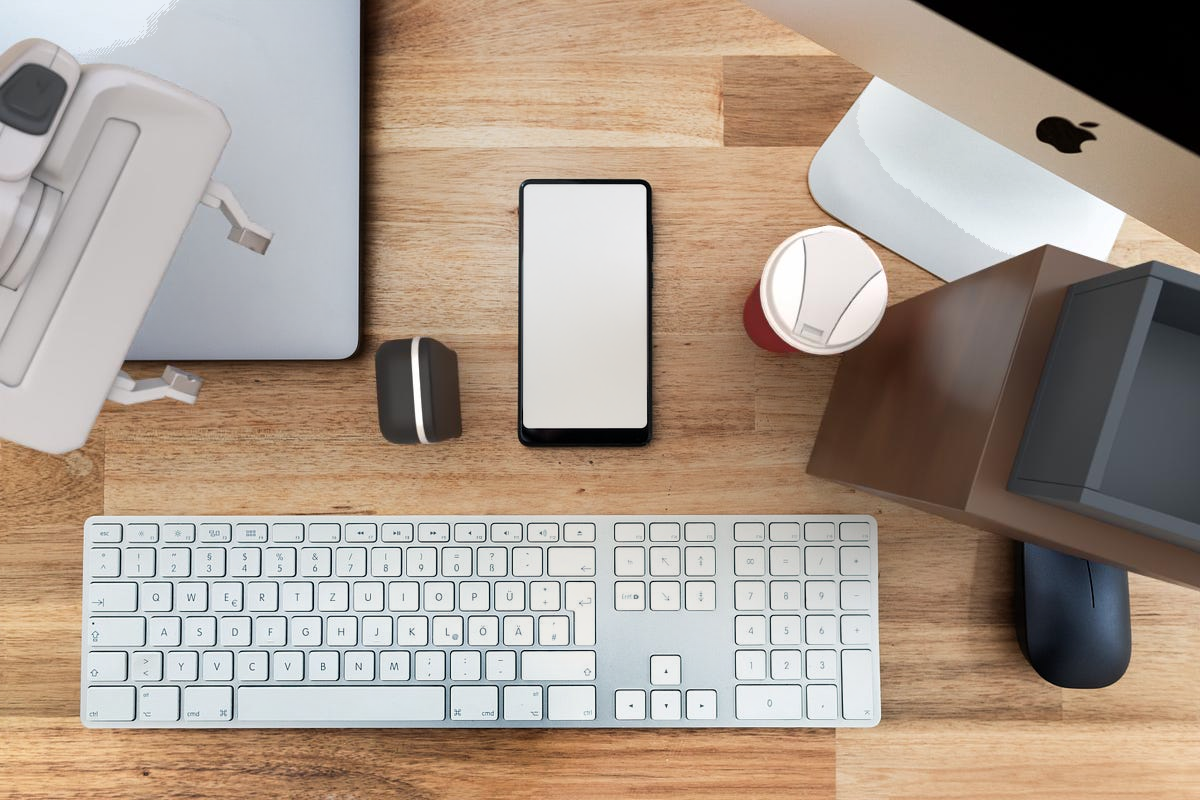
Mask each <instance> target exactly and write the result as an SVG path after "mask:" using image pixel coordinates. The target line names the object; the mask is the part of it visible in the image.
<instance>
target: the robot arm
mask: <svg viewBox="0 0 1200 800" xmlns="http://www.w3.org/2000/svg"><path fill="white" fill-rule="evenodd" d="M232 131H233V130H232V126H231V124H230V122H229V120H228V118H227V116H226V114H225V112H224V111H223V110H222V108H221V107H219V106H218V105H216V104H215V103H213V102H211V101H209V100H208V99H206V98H204V97H202V96H200V95H198V94H196V93H194V92H192V91H190V90H188V89H186V88H184V87H181V86H179V85H178V84H175V83H173V82H170V81H168V80H166V79H164V78H161V77H159V76H156V75H154V74H151V73H149V72H146V71H143V70H141V69H138V68H135V67H133V66H129V65H124V64H120V63H119V64H118V63H110V62H109V63H108V62H91V63H82V64H80V62H79V61H78V59H77V58H76V57H75V56H74V55H73V54H71V53H70V52H69V51H68V50H66V49H64V48H63V47H62V46H60V45H58V44H56V43H54V42H52V41H50V40H47V39H45V38H41V37H31V38H25V39H23V40H20V41H18V42H15V43H14V44H13V45H11V46H10V47H9V48H7V49H6V50H5V51H3V53H1V54H0V439H2V440H5V441H8V442H10V443H14V444H16V445H20V446H22V447H25V448H28V449H32V450H35V451H38V452H42V453H45V454H49V455H54V456H59V455H64V454H66V453H69V452H73V451H75V450H79V449H81V448H83V446H85V444H86V442H87V440H88V438H89V436H90V434H91V432H92V430H93V427H94V426H95V424H96V421H97V419H98V417H99V415H100V412H101V411H102V409H103V406H104V404H105V402H106V400H108V401H111V402H116V403H118V404H121V405H124V406H129V405H134V404H135V405H136V404H139V403H145V402H150V401H156V400H161V399H165V397H167V398H170V399H173V400H177V401H180V402H182V403H185V404H189V405H195V404H196V401H197V399H198V398H199V394H200V392H201V390H202V388H203V385H204V383H205V379H202V378H201V377H200V376H199V375H197V374H195V373H193V372H190V371H187V370H186V371H182V370H181V369H180V368H178V367H175V366H173V365H169V364H167V365H166V367H165V370H164V371H163V372H162V375H161V376H160V377H159V376H158V377H152V378H145V379H144V378H143V379H136V380H134V378H132V377H131V376H130V375H129V374H128V373H127V372H126V371H124V370H121V368H122V367H123V364H124V362H125V360H126V358H127V356H128V354H129V352H130V349H131V348H132V345H133V343H134V342H135V339H136V337H137V335H138V333H139V330H140V328H141V326H142V324H143V323H144V320H145V317H146V315H147V313H148V312H149V309H150V307H151V305H152V303H153V301H154V299H155V297H156V295H157V293H158V290H159V288H160V287H161V284H162V283H163V280H164V278H165V275H166V274H167V271H168V269H169V267H170V265H171V263H172V261H173V259H174V256H175V254H176V252H177V250H178V248H179V246H180V244H181V242H182V240H183V238H184V235H185V233H186V231H187V229H188V227H189V225H190V223H191V221H192V218H193V216H194V215H195V212H196V210H197V208H198V205H199V204H202V205H204V206H206V207H208V208H211V209H215V210H218V209H219V210H220V211H221V213H222V214H223V215H224V217H225V218H226V219H227V221H228V222H229V224H230V225H231V229H230V231H229V234H228V236H227V240H229V241H232V242H234V243H236V244H237V245H240V246H242V247H244V248H246V249H248V250H251V251H252V252H254V253H257V254H259V255H262V256H265V254H266V253H267V251H268V248H269V246H270V244H271V242H272V240H273V238H274V236H275V234H276V233H275V232H273V231H272V230H270V229H268V228H266V227H264V226H262V225H261V224H258V223H256V222H254V221H252V220H250V217H249V215H248V213H247V212H246V211H245V208H243V206H242V205H241V203H240V202H239V200H238V199H237V197H236V196H235V194H234V192H233V191H232V189H231V187H229V186H227V185H225V184H223V183H221V182H219V181H217V180H215V179H213V178H212V177H213V174H214V172H215V170H216V168H217V166H218V164H219V161H220V159H221V157H222V155H223V153H224V151H225V149H226V147H227V145H228V143H229V140H230V139H231V136H232V133H233V132H232Z"/></svg>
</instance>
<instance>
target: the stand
mask: <svg viewBox="0 0 1200 800" xmlns="http://www.w3.org/2000/svg"><path fill="white" fill-rule="evenodd" d="M1125 268H1126V267H1125ZM1125 268H1124V267H1122V266H1118V265H1116V264H1113V263H1109V262H1107V261H1103V260H1100V259H1097V258H1093V257H1091V256H1087V255H1084V254H1082V253H1078V252H1075V251H1071V250H1069V249H1065V248H1063V247H1060V246H1056V245H1053V244H1050V243H1045V244H1043V245H1040V246H1038V247H1036V248H1033V249H1030V250H1028V251H1025V252H1022V253H1021V254H1017V255H1015V256H1013V257H1009V258H1008V259H1005V260H1003V261H1000V262H998V263H995V264H992V265H990V266H988V267H985V268H981V269H980V270H977V271H974V272H972V273H970V274H968V275H965V276H962V277H960V278H957V279H954V280H953V281H950V282H947V283H945V284H942V285H940V286H938V287H935V288H932V289H930V290H927V291H925V292H922V293H920V294H917V295H914V296H912V297H909V298H907V299H905V300H902V301H900V302H897V303H895V304H894V303H893V304H892V305H889V306H886V307H885V311H884V314H883V316H882V318H881V320H880V322H879V324H878V326H877V327H876V328H875V330H874V331H873V332H872V333H871V334H870V335H869V337H868V338H867V339H865V340H864V341H863V342H861V343H860V344H859V345H857V346H855V347H853V348H851V349H849V350H846V351H843V352H842V355H841V357H840V361H839V364H838V368H837V371H836V374H835V377H834V380H833V383H832V386H831V389H830V393H829V395H828V396H829V397H828V400H827V403H826V405H825V409H824V412H823V415H822V418H821V421H820V425H819V428H818V430H817V434H816V437H815V441H814V443H813V446H812V450H811V453H810V456H809V459H808V462H807V465H806V469H805V474H807V475H809V476H813V477H816V478H819V479H822V480H825V481H828V482H831V483H834V484H837V485H840V486H844V487H846V488H850V489H853V490H856V491H859V492H863V493H864V494H865V493H866V494H868V495H871V496H875V497H878V498H881V499H884V500H887V501H889V502H890V501H891V502H893V503H896V504H899V505H903V506H906V507H908V508H912V509H914V510H918V511H920V512H924V513H927V514H931V515H934V516H937V517H939V518H943V519H946V520H949V521H952V522H954V523H958V524H961V525H965V526H967V527H970V528H973V529H976V530H980V531H984V532H986V533H990V534H994V535H997V536H1001V537H1004V538H1008V539H1012V540H1015V541H1018V542H1021V543H1024V544H1029V545H1033V546H1036V547H1040V548H1043V549H1047V550H1051V551H1054V552H1058V553H1060V554H1061V553H1062V554H1065V555H1068V556H1072V557H1075V558H1079V559H1082V560H1086V561H1090V562H1094V563H1097V564H1100V565H1104V566H1108V567H1110V568H1114V569H1117V570H1121V571H1126V572H1129V573H1133V574H1134V575H1135V574H1136V575H1139V576H1142V577H1147V578H1150V579H1154V580H1157V581H1160V582H1165V583H1168V584H1171V585H1175V586H1178V587H1182V588H1186V589H1189V590H1192V591H1196V592H1199V593H1200V553H1197V552H1194V551H1191V550H1188V549H1185V548H1182V547H1178V546H1175V545H1172V544H1169V543H1166V542H1163V541H1160V540H1157V539H1154V538H1151V537H1147V536H1144V535H1141V534H1138V533H1135V532H1132V531H1129V530H1126V529H1123V528H1120V527H1116V526H1113V525H1110V524H1107V523H1104V522H1101V521H1098V520H1095V519H1092V518H1089V517H1085V516H1082V515H1079V514H1076V513H1073V512H1070V511H1067V510H1064V509H1061V508H1057V507H1054V506H1051V505H1048V504H1045V503H1042V502H1039V501H1036V500H1033V499H1030V498H1026V497H1023V496H1020V495H1017V494H1014V493H1011V492H1008V491H1006V488H1007V485H1008V482H1009V479H1010V475H1011V472H1012V469H1013V466H1014V462H1015V459H1016V456H1017V453H1018V449H1019V446H1020V443H1021V440H1022V437H1023V433H1024V430H1025V427H1026V424H1027V420H1028V417H1029V414H1030V411H1031V407H1032V404H1033V401H1034V398H1035V395H1036V391H1037V388H1038V385H1039V382H1040V378H1041V375H1042V372H1043V369H1044V365H1045V362H1046V359H1047V356H1048V353H1049V349H1050V346H1051V343H1052V340H1053V336H1054V333H1055V330H1056V327H1057V323H1058V320H1059V317H1060V314H1061V311H1062V307H1063V304H1064V301H1065V298H1066V294H1067V291H1068V288H1069V285H1070V284H1073V283H1078V282H1080V281H1084V280H1087V279H1090V278H1094V277H1097V276H1101V275H1104V274H1108V273H1111V272H1114V271H1118V270H1121V269H1125Z"/></svg>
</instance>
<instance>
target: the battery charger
mask: <svg viewBox="0 0 1200 800" xmlns="http://www.w3.org/2000/svg"><path fill="white" fill-rule="evenodd" d="M374 369H375V371H374V372H375V386H376V399H377V401H376V403H377V415H378V426H379V427H378V428H379V432H380V433H381V435H382V437H383V439H385V441H387V442H389V443H391V444H394V445H418V444H423V445H437V444H440V443H443V442H446V441H452V440H454V439H460V438H461V437H462V436H463V421H462V410H461V409H462V407H461V392H460V380H459V379H460V378H459V365H458V354H457V351H456V350H454V349H451V348H449V347H448V346H446V345H445V344H444V343H442V342H441V341H439V340H437V339H436V338H433V337H430V336H424V335H421V336H420V335H418V336H417V335H416V336H413V337H410V338H409V337H408V338H397V339H396V338H395V339H390V340H386V341H384V342H382V343H381V344H380V345H379V346H378V347H377V349H376V351H375V354H374Z"/></svg>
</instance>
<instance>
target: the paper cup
mask: <svg viewBox="0 0 1200 800" xmlns="http://www.w3.org/2000/svg"><path fill="white" fill-rule="evenodd" d="M888 296H889V295H888V281H887V275H886V272H885V269H884V267H883V265H882V263H881V260H880V259H879V257H878V255H877V254H876V253H875V252H874V250H873V249H872V248H871V246H869V245H868V244H867V243H866V242H865V241H864V240H863V239H862V238H861V237H860V235H858V234H857V233H855V232H853V231H851V230H849V229H848V228H847V229H846V228H845V227H841V226H836V225H828V224H827V225H823V226H819V227H814V228H808V229H805V230H802V231H799V232H797V233H795V234H793V235H791V236H789V237H787V238H786V239H785V240H784V241H781V243H780V244H779V245H778V246H777V247H776V248H775V249H774V251H773V252H772V253H771V255H770V256H769V257H768V259H767V261H766V263H765V265H764V268H763V271H762V275H761V276H760V278H759V279H758V281H757V282H756V284H755V285H754V286H753V288H752V290H751V291H750V292H749V294H748V296H747V298H746V300H745V303H744V306H743V309H742V322H743V326H744V330H745V332H746V334H747V336H748V337H749V339H750V340H751V341H752V342H753V343H754V344H755V345H756V346H757V347H759V348H760V349H762V350H764V351H766V352H768V353H773V354H798V353H809V354H813V355H814V354H815V355H835V354H840V353H843V351H846V350H849V349H851V348H853V347H855V346H857V345H859V344H860V343H861V342H863V341H864V340H865V339H867V338H868V337H869V335H870V334H871V333H872V332H873V331H874V330H875V328H876V327H877V326H878V324H879V322H880V320H881V318H882V316H883V314H884V311H885V308H887V303H888Z"/></svg>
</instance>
